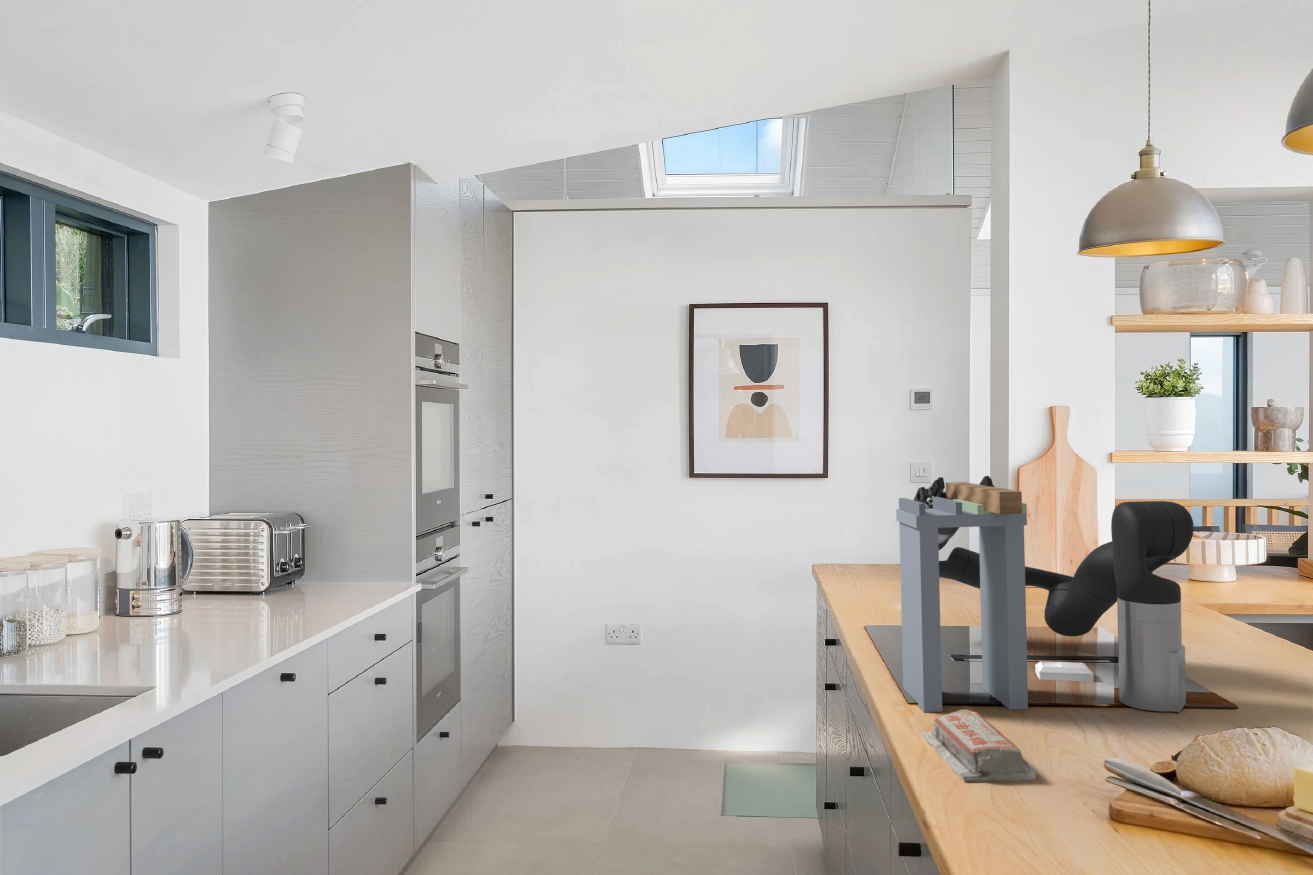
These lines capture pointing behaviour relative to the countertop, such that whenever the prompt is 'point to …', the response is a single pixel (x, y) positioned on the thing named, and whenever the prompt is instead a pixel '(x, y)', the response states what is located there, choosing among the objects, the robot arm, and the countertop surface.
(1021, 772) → the packaged product
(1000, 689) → the bridge
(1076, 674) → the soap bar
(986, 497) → the wooden square beam
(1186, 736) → the countertop surface
